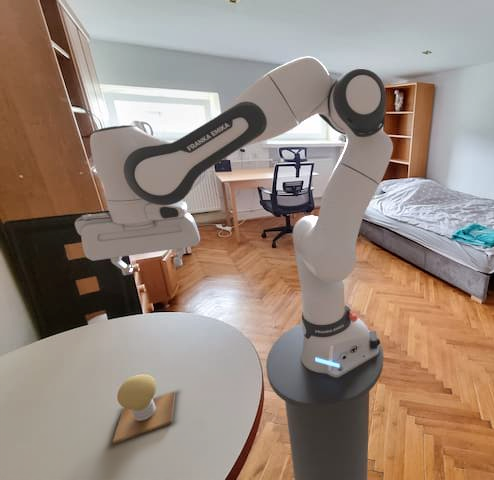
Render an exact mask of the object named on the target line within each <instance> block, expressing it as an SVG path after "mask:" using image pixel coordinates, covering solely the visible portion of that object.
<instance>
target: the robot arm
mask: <svg viewBox="0 0 494 480" xmlns="http://www.w3.org/2000/svg"><path fill="white" fill-rule="evenodd" d="M386 104H387V93H386V88H385V84H384V82H383V81H382V79H381V77H380V76H378V74H377V73H375V72H374V71H372V70H371V69H367V68H354V69H351V70H349V71H346V72H345V73H343V74H342V75H341V76H340V77H339V78H338V79H336V78H334V77H332V75H331V74H329V72H328V70H327V68H326V66H325V65H324V64H323V63H322V62H321V61H320V60H318V59H317V58H315V57H313V56H310V55H306V56H302V57H299V58H296V59H293V60H290V61H288V62H285V63H284V64H281V65H280V66H278V67H276V68H274V69H272V70H270V71H269V72H267V73H266V74H264V75H262V76H261V77H259V78H258V79H257V80H256V81H254V82H253V83H252V84H251V85H249V86H248V87H247V88H245V90H244V91H243V92H241V94H239V96H238V97H236V99H234V101H232V102H231V104H230V105H228V106H227V107H226V108H225V109H224V110H223V111H222V112H221V113H220V114H219V115H217V116H215V117H213V118H212V119H210V120H209V121H207V122H206V123H204V124H202V125H201V126H199V127H197V128H196V129H193V130H192V131H190V132H189V133H187V134H186V135H184V136H182V137H180V138H179V139H176V140H175V141H173V142H172V141H169V140H166V139H162V138H160V137H158V136H157V137H156V136H154V135H152V134H149V133H148V132H146V131H144V130H142V129H141V128H140V127H138V126H135V125H132V124H131V125H126V124H125V125H113V126H108V127H103V128H99V129H96V130H94V131H93V132H92V133H91V134H90V137H89V145H90V152H91V156H92V161H93V165H94V169H95V171H96V175H97V177H98V179H99V180H100V181H101V183H102V185H103V189H104V200H105V203H106V205H107V210H108V212H99V213H93V214H92V213H90V214H89V213H87V214H82V215H81V216H80V217H78V218H76V219H75V221H74V227H75V229H76V233H77V234H78V235H79V236H80V237H81V245H82V249H83V253H84V256H85V257H86V258H87V259H89V260H91V261H93V262H95V261H101V260H102V261H103V260H107V259H108V260H109V259H110V262H111V264H113V265H114V266H116V267H117V268H118V269H120V270H121V273H122V275H123V276H128V275H133V274H134V268H133V265H132V263H129V264H127V263H126V262H124V261H123V260H122V258H123V257H130V256H136V255H143V254H149V253H158V252H164V251H172V250H175V251H176V253H177V254H178V255H177V256H176V257H173V259H172V262H173V266H174V268H179V267H183V259H182V258H183V256H184V254H185V250H186V248H192V247H197V246H198V245H199V244H200V242H201V236H200V231H199V228H198V224H197V223H196V221H195V218H194V217H193V216H192V215H191V213H189V212H188V205H187V203H186V202H185V201H183V200H184V199H185V198H186V197H187V195H189V193H190V192H192V190H194V189H195V188H196V187H198V185H200V184H201V182H202V181H203V179H204V178H205V176H206V175H205V174H206V171H207V170H209V169H211V168H212V167H213V166H215V165H217V164H218V163H219V162H221V161H223V160H224V159H225V158H227V157H229V156H230V155H232V154H234V153H235V152H237V151H239V150H240V149H243V148H244V147H247V146H250V145H254V144H256V143H260V142H264V141H267V140H272V139H273V138H276V137H279V136H282V135H283V134H286V133H288V132H289V131H291V130H293V129H295V128H296V127H298V126H300V125H301V124H303V123H304V122H305V121H307V120H308V119H310V118H313V117H314V116H319V117H320V118H321V119H322V121H324V122H326V123H327V125H328V126H330V127H331V128H332V130H333V131H336V132H337V133H339V134H342V135H345V140H346V142H345V146H344V149H343V152H342V154H341V155H340V157H339V159H338V161H337V163H336V165H335V167H334V169H333V171H332V173H331V175H330V177H329V179H328V181H327V183H326V185H325V187H324V189H323V190H322V194H321V202H320V203H321V204H320V207H319V212H318V216H315V215H306V216H304V217H301V218H300V219H298V220H297V221H296V223H295V224H294V225H293V229H292V241H293V242H292V243H293V249H294V256H295V261H296V269H297V273H298V278H299V279H298V280H299V285H300V291H301V301H302V302H301V303H302V312H301V323H302V330H303V334H304V341H303V348H302V351H301V361H302V363H303V364H304V366H305V367H306V368H308V369H309V370H311V371H314V372H318V373H325V374H328V375H330V376H332V377H335V378H338V377H340V376H342V375H344V374H345V373H347V372H349V371H350V370H352V369H354V368H356V367H357V366H359V365H361V364H362V363H364V362H366V361H368V360H369V359H371V358H373V357H374V356H376V355H378V354H379V344H381V340H380V339H379V338H378V336H377V331H376V330H370V329H369V328H368V327H367V325H366V324H365V322H364V321H363V320H362V319H361V318H359V317H358V315H357V314H356V312H354V311H352V309H351V308H350V306H348V305H347V304H345V283H344V280H346V279H347V278H349V276H350V275H351V274H352V273H353V271H354V270H355V267H356V264H357V254H356V253H357V252H356V247H357V241H358V237H359V232H360V229H361V225H362V222H363V219H364V216H365V213H366V211H367V209H368V207H369V206H370V203H371V201H372V199H373V197H374V195H375V194H376V192H377V190H378V187H380V186H379V185H380V184H381V182H382V180H383V178H384V176H385V174H386V172H387V168H388V166H389V163H390V162H391V158H392V155H393V151H394V143H393V141H392V138H391V137H390V136H389V135H388V133H386V132H385V130H383V127H384V126H385V123H386ZM368 329H369V330H370V331H369V330H368ZM377 338H378V339H377ZM340 370H341V371H340Z"/></svg>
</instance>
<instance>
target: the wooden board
mask: <svg viewBox="0 0 494 480" xmlns="http://www.w3.org/2000/svg"><path fill="white" fill-rule="evenodd" d="M152 399H153V401H154V404H155V407H156V410H155V412H154V414H153V415H152V416H151V417H149V418H148V419H146V420H143V421H137V420H136V419H135V417H134V415H133V412H132V409H126V408H124V407H123V408H122V410H121V413H120V416H119V419H118V422H117V426H116V429H115V432H114V436H113V439H112V444H117V443H120V442H122V441H125V440H127V439H130V438H131V439H132V438H133V437H137V436H139V435H141V434H145V433H147V432H151V431H153V430H155V429H159V428H161V427H164V426H167V425H169V424H172V423H173V417H174V408H175V400H176V392H175V391H173V392H171V393H167V394H165V395H161V396H158V397H156V398H152Z"/></svg>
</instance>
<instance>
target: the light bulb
mask: <svg viewBox="0 0 494 480" xmlns="http://www.w3.org/2000/svg"><path fill="white" fill-rule="evenodd" d="M117 391H118V392H117V395H116V397H117V398H116V399H117V402H118V404H119V406H121V407H122V408H123V409H124V408H126V409H132V412H133V415H134V417H135V419H136V420H137V421H143V420H146V419H148V418H149V417H151V416H152V415H153V414H154V412H155V410H156V407H155V404H154V401H153V399H154V396H155V394H156V392H157V383H156V380H155V378H154V377H153V376H152V375H150V374H146V373H145V374H143V373H142V374H136V375H134V376H131V377H129V378H128V379H126V380H124V382H123V383H122V384H121V386H120V387H119V389H118V390H117Z"/></svg>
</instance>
